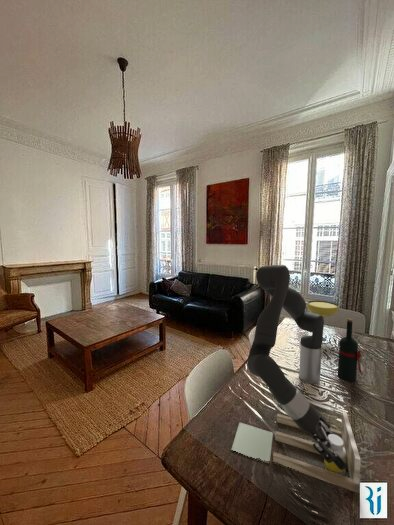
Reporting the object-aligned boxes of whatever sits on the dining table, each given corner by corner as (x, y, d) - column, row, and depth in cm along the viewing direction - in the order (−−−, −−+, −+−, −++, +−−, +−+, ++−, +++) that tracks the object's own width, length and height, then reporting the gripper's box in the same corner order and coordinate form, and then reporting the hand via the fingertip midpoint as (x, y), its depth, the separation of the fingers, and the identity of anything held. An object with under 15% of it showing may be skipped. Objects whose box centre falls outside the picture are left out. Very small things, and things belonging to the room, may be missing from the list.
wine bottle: (358, 387, 104) (362, 324, 101) (334, 376, 112) (337, 318, 109) (364, 380, 108) (368, 320, 105) (341, 371, 116) (343, 315, 114)
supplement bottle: (325, 457, 71) (327, 428, 70) (346, 467, 67) (347, 438, 66) (322, 470, 67) (323, 440, 66) (343, 483, 63) (345, 451, 62)
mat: (239, 423, 84) (239, 422, 84) (272, 433, 80) (272, 432, 80) (231, 450, 73) (231, 449, 73) (269, 464, 69) (269, 463, 69)
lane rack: (277, 419, 86) (277, 395, 85) (344, 438, 77) (346, 412, 76) (273, 462, 69) (273, 432, 68) (358, 493, 61) (360, 459, 60)
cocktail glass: (307, 332, 165) (308, 299, 162) (336, 337, 156) (338, 302, 153) (305, 342, 149) (306, 305, 147) (337, 348, 140) (338, 309, 138)
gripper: (310, 420, 62) (359, 476, 58) (307, 388, 75) (347, 432, 71) (289, 431, 64) (334, 485, 61) (289, 398, 77) (327, 441, 74)
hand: (341, 456), depth 66 cm, fingers open, 6 cm apart
